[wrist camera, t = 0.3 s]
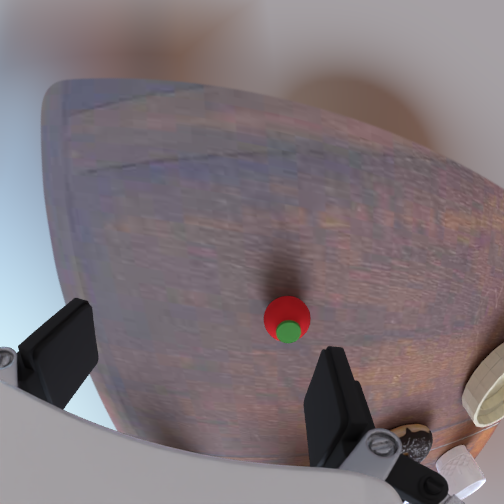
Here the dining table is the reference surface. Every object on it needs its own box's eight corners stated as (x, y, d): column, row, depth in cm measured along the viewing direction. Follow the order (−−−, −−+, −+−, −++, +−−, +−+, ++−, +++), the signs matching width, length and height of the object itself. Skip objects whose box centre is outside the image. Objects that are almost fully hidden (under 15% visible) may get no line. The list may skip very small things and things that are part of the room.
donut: (431, 410, 31) (441, 429, 27) (421, 451, 34) (428, 468, 30) (358, 435, 32) (364, 456, 28) (359, 471, 35) (363, 490, 32)
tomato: (256, 299, 27) (254, 323, 23) (296, 281, 26) (302, 303, 22) (275, 332, 28) (276, 359, 24) (314, 316, 27) (320, 341, 23)
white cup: (455, 462, 36) (470, 496, 27) (425, 470, 36) (439, 508, 27) (474, 438, 34) (493, 473, 24) (445, 447, 34) (463, 487, 24)
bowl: (459, 368, 29) (476, 391, 24) (526, 318, 26) (546, 334, 22) (459, 418, 32) (471, 439, 27) (518, 376, 29) (533, 392, 25)
